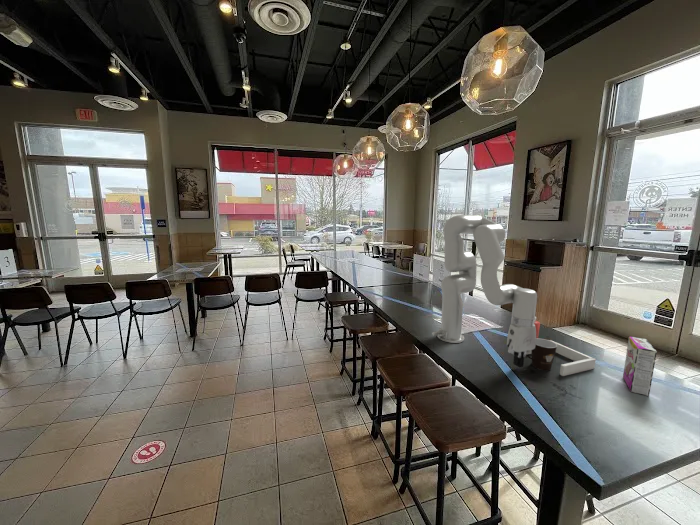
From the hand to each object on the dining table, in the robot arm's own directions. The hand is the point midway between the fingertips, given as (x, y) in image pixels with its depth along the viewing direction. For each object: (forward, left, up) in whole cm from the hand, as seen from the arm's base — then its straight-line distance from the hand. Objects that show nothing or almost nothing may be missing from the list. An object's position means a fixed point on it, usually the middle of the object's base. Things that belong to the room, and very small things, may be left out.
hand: (518, 365), depth 114 cm
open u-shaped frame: (+21, 0, -2) cm, 21 cm away
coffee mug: (+10, 0, -2) cm, 10 cm away
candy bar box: (+30, -22, -2) cm, 37 cm away
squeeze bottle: (+28, +17, -2) cm, 33 cm away
